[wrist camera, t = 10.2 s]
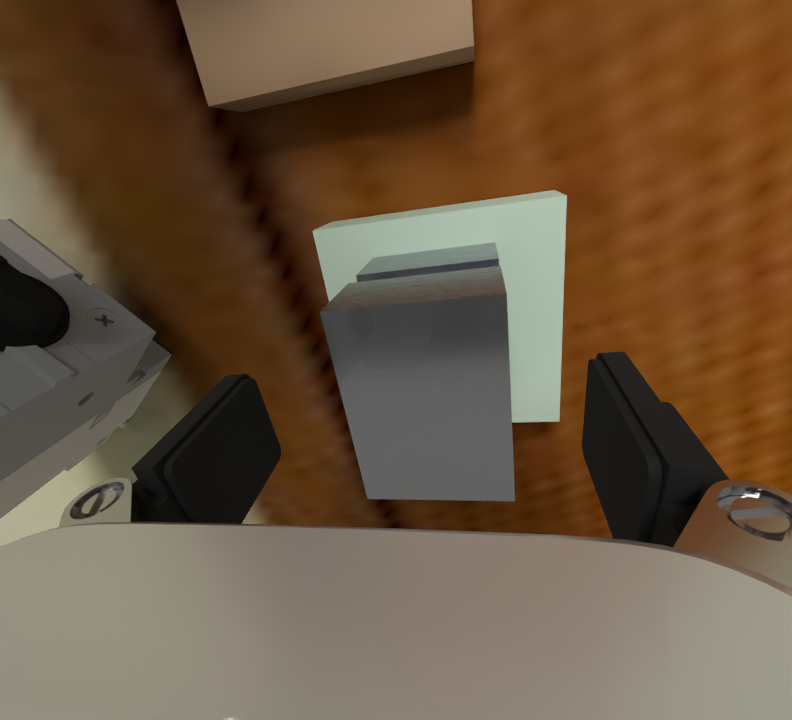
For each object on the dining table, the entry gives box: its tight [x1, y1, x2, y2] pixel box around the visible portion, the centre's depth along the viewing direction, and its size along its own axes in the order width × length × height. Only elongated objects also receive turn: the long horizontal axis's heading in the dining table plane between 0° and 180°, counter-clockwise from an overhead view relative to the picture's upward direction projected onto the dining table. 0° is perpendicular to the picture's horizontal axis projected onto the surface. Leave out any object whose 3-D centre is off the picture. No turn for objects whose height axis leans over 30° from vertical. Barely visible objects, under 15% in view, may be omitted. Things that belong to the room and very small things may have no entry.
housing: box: [320, 242, 515, 501], centre depth 15 cm, size 7×5×7 cm
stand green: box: [313, 190, 567, 422], centre depth 19 cm, size 10×10×2 cm
